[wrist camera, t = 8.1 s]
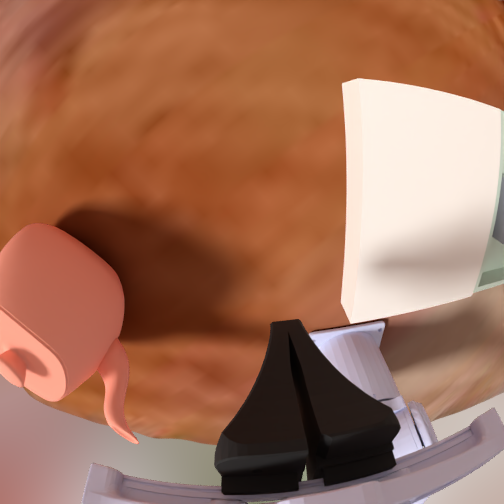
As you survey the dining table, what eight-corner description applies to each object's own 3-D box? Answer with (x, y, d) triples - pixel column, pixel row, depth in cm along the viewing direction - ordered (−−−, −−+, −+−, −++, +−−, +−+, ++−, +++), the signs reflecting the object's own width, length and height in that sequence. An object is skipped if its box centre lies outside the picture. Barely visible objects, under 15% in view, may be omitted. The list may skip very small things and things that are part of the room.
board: (456, 280, 24) (471, 296, 21) (340, 302, 24) (350, 323, 21) (478, 106, 15) (500, 109, 13) (341, 83, 16) (358, 78, 13)
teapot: (141, 370, 28) (115, 462, 17) (4, 275, 22) (-56, 341, 11) (200, 298, 23) (177, 427, 12) (23, 174, 17) (-78, 229, 6)
